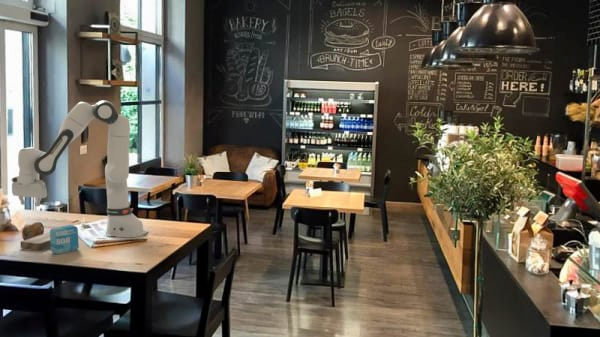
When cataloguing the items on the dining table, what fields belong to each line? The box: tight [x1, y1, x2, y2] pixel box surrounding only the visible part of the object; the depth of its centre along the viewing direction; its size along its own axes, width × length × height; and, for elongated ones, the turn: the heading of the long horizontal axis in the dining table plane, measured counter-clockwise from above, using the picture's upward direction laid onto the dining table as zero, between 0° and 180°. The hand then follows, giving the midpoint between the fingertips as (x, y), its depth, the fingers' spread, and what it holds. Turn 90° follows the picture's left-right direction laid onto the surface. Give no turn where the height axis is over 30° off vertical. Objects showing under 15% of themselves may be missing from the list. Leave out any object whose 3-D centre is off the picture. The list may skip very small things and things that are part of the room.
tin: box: [21, 221, 45, 241], centre depth 314 cm, size 15×3×8 cm, turn 168°
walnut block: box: [20, 231, 51, 252], centre depth 305 cm, size 12×20×4 cm, turn 161°
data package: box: [49, 224, 80, 255], centre depth 293 cm, size 12×4×12 cm, turn 137°
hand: (30, 205), depth 312 cm, fingers open, 8 cm apart
